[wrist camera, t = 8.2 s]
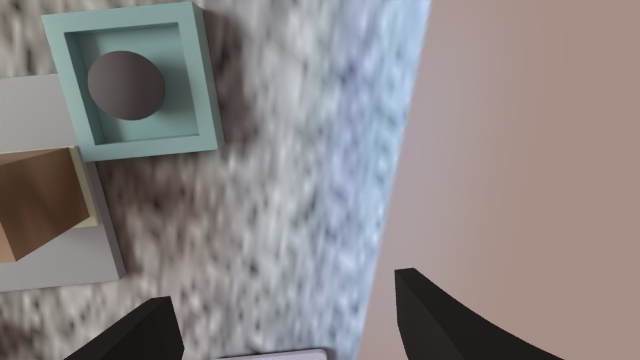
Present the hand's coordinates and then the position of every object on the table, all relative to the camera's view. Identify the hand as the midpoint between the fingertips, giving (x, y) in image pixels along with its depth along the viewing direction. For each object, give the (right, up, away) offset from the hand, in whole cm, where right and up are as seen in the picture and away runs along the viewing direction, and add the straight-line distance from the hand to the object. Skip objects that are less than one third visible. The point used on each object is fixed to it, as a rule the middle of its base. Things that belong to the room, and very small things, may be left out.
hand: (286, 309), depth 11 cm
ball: (-8, +9, +7) cm, 14 cm away
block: (-14, +4, +8) cm, 17 cm away
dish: (-8, +9, +7) cm, 14 cm away
